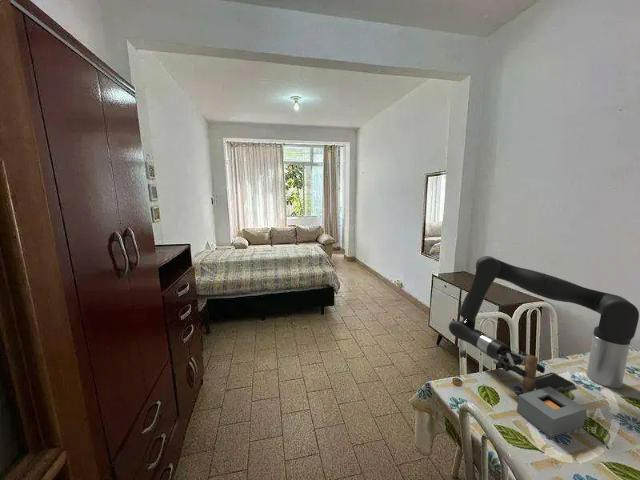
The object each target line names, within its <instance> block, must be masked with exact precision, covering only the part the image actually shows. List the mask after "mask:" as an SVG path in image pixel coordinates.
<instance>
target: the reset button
mask: <svg viewBox="0 0 640 480" xmlns="http://www.w3.org/2000/svg"><path fill="white" fill-rule="evenodd" d="M543 402H544V403H546V404H547V405H549V406H550V407H552V408H553V409H558V408H560V407H559V406H557V405H556V404H554V403H553V402H551V401H550V400H547V401H543Z"/></svg>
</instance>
